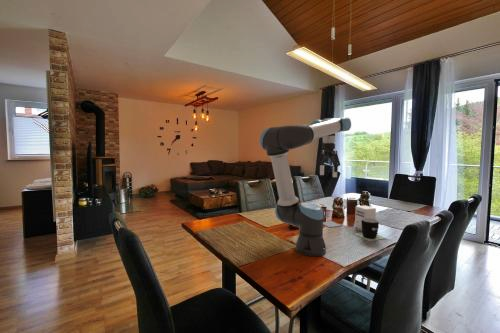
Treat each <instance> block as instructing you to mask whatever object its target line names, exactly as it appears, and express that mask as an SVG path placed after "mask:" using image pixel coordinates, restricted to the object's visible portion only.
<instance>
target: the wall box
mask: <svg viewBox="0 0 500 333" xmlns="http://www.w3.org/2000/svg"><path fill="white" fill-rule="evenodd" d="M354 215H355V216H354V218H355V219H354V228H357V229H360V230H362V223H361V221H362V219H363V218H372V219H376V218H377V217H376V215H377V208H376V207H372V206H369V205H355V214H354ZM376 220H377V219H376Z"/></svg>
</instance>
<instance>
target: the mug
mask: <svg viewBox="0 0 500 333" xmlns="http://www.w3.org/2000/svg"><path fill="white" fill-rule="evenodd" d="M361 223H362V229H361V232H362V234H363V236H364V237H365V238H368V239H375V238H376V236H377V235H378V232H379V228H380V226H379V224H380V222H379V220H378V219H372V218H363V219H362V221H361Z"/></svg>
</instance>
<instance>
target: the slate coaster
mask: <svg viewBox="0 0 500 333" xmlns="http://www.w3.org/2000/svg"><path fill="white" fill-rule="evenodd" d="M323 226H325V227H327V228H337V227H342V225H341V224H339V223H337V222H335V221H332V220H331V221H323Z"/></svg>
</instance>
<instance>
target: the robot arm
mask: <svg viewBox="0 0 500 333" xmlns="http://www.w3.org/2000/svg"><path fill="white" fill-rule="evenodd" d="M351 128H352V121H351V118H349V117H347V116H346V117H338V118H334V117H333V118H332V117H328V118H323V119H314V120H312V122H311V123H310V125H309V124H301V125H282V126H272V127H267V128H265V129H263V130H262V132H261V134H260V137H259V146H260V147H261V149H263V150H264V151H266V152H265V153H266V155H267V156H268V157H269V158H270V161H271V165H272V171H273V175H274V180H275V184H276V189H277V195H278V200H277V203H276V204H275V209H274V214H275V216H276V218H277V219H278V221H280V222H282V223H284V224H289V225H292V226H294V227H299V229H298V230H299V232H298V236H297V240H296V242H295V251H296V252H297V253H299V254H300V255H301V254H302V255H304V256H308V257H321V256H323V255H325V254H326V253H327V246H326V243H325V239H324V225H323V222H324V210H323V208H322V207H321V206H320V205H319V204H316V203H314V202H313V203H312V202H301V203H300V200H299V198H298V197H297V196H296V194H295V189H294V188H295V187H294V183H293V178H292V173H291V168H290V163H289V158H288V154H289V152H290V150H294V149H298V148H301V147H304V146H306V145H310V144H311V143H312V142H314V141H315V140H318V139H321V138H322V150H320V155H319V158H318V161H317V164H318V165H319V176H324V175H325V162H326V161H327V159H328V158H329V160H330V161H331V163H332V178H338V169H339V167H340V166H341V161H340V158H339V155H338V150H335V149H336V134H337V133H340V132H348V131H350V130H351Z"/></svg>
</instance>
